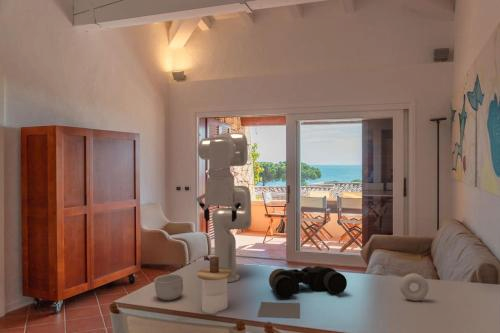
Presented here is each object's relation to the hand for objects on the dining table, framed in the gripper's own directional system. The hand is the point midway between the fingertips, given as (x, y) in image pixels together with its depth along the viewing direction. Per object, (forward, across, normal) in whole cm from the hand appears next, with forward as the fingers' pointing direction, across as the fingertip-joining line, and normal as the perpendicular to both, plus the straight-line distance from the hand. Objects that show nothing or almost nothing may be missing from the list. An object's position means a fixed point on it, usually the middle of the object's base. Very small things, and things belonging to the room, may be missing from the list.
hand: (220, 221), depth 141 cm
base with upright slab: (+31, -2, -4) cm, 31 cm away
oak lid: (+19, -2, -3) cm, 19 cm away
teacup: (+31, -22, +7) cm, 39 cm away
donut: (+31, +70, +13) cm, 78 cm away
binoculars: (+32, +29, +19) cm, 47 cm away
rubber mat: (+31, +21, -4) cm, 38 cm away
